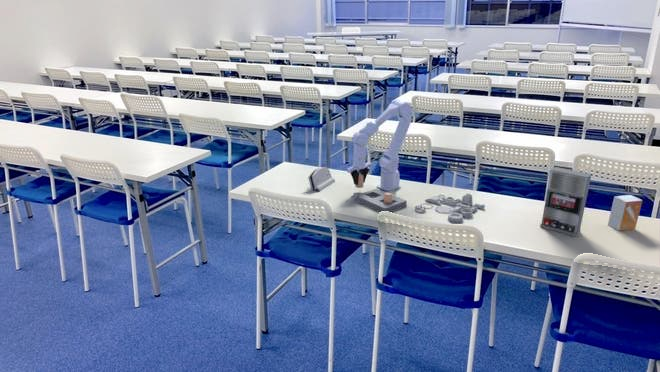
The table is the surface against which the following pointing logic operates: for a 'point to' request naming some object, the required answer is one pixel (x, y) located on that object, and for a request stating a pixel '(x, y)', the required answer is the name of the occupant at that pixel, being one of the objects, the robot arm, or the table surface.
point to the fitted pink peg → (388, 198)
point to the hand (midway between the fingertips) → (359, 183)
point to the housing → (379, 200)
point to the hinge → (320, 179)
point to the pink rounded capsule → (360, 181)
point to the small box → (624, 212)
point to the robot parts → (455, 215)
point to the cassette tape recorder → (565, 200)
